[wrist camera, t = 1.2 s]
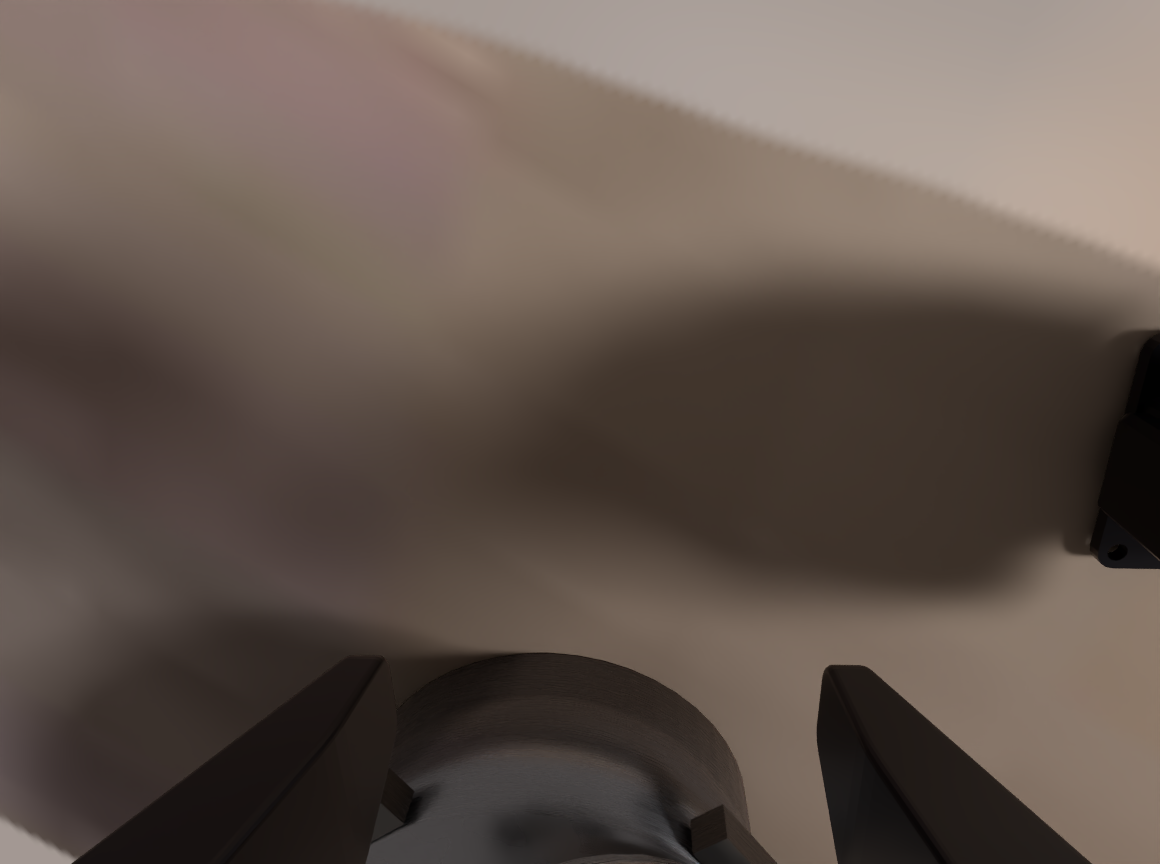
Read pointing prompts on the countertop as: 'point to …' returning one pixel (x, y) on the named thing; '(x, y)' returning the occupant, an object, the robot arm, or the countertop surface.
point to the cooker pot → (558, 770)
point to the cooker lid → (622, 859)
